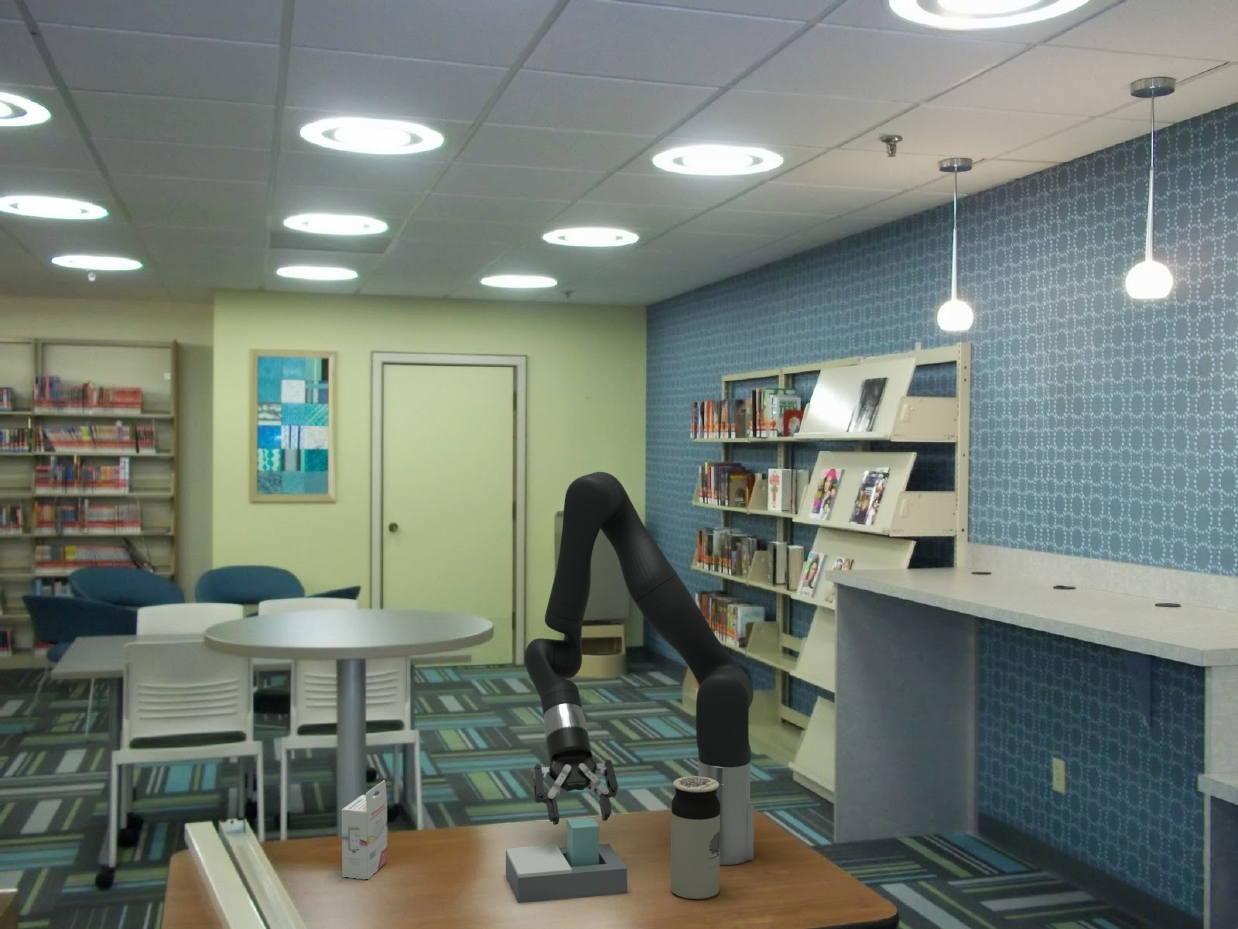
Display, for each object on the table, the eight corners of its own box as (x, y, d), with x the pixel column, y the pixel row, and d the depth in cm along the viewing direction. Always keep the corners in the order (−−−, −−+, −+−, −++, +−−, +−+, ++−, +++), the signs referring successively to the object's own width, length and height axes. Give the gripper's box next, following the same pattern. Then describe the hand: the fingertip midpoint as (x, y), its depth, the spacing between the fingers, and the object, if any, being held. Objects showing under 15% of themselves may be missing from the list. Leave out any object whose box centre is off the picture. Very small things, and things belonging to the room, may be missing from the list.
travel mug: (660, 891, 198) (661, 782, 197) (691, 878, 203) (692, 772, 203) (698, 905, 192) (699, 793, 192) (728, 891, 198) (730, 782, 197)
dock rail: (608, 866, 208) (608, 840, 208) (627, 892, 197) (627, 864, 197) (505, 875, 204) (505, 848, 204) (518, 902, 192) (518, 874, 192)
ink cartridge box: (361, 860, 210) (361, 776, 210) (387, 862, 209) (388, 778, 209) (340, 878, 202) (340, 791, 201) (367, 881, 201) (368, 793, 200)
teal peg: (592, 876, 204) (592, 817, 204) (598, 886, 200) (599, 826, 199) (566, 878, 203) (566, 819, 203) (572, 888, 198) (572, 828, 198)
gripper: (530, 727, 209) (543, 813, 198) (609, 722, 212) (626, 806, 202) (524, 749, 214) (536, 834, 203) (602, 744, 218) (618, 828, 207)
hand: (581, 820), depth 202 cm, fingers open, 8 cm apart
